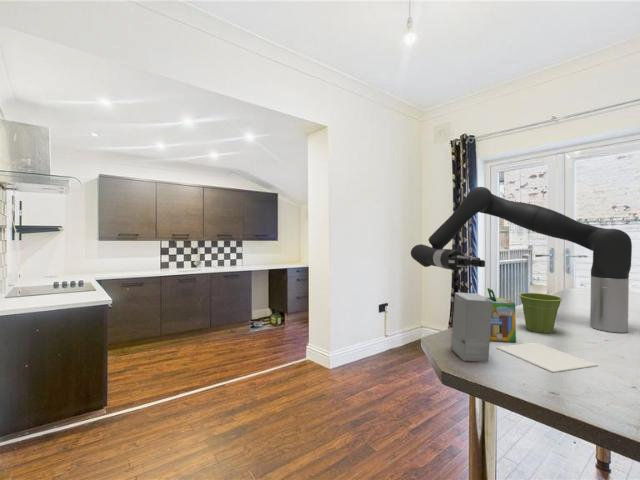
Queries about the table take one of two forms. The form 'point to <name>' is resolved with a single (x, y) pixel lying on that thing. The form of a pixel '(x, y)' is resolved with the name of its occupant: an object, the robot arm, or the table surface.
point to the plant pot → (540, 311)
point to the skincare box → (471, 326)
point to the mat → (546, 357)
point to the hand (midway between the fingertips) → (483, 263)
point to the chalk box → (502, 319)
